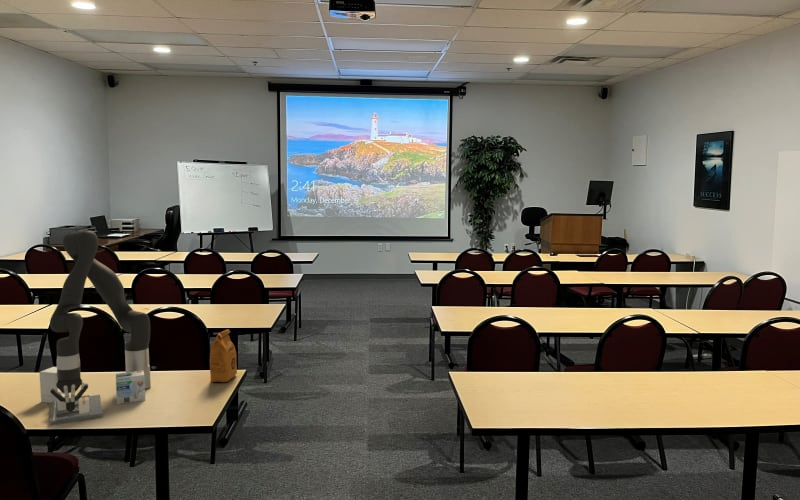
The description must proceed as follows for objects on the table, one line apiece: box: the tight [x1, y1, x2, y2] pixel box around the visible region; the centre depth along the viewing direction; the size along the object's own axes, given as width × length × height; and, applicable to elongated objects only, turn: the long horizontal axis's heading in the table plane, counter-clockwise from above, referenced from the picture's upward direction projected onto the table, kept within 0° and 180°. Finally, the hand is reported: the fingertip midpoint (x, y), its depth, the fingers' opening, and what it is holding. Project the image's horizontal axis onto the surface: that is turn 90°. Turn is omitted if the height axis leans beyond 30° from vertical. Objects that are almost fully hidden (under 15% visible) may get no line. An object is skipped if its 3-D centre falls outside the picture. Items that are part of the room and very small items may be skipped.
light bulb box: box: [115, 370, 146, 405], centre depth 240 cm, size 11×7×11 cm, turn 117°
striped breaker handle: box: [79, 397, 90, 414], centre depth 223 cm, size 4×4×5 cm
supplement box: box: [39, 366, 58, 404], centre depth 239 cm, size 7×7×13 cm
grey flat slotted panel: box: [49, 394, 104, 427], centre depth 228 cm, size 17×22×2 cm
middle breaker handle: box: [57, 394, 66, 411], centre depth 226 cm, size 4×4×5 cm
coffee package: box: [209, 329, 238, 383], centre depth 265 cm, size 10×12×22 cm
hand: (70, 410), depth 221 cm, fingers closed
